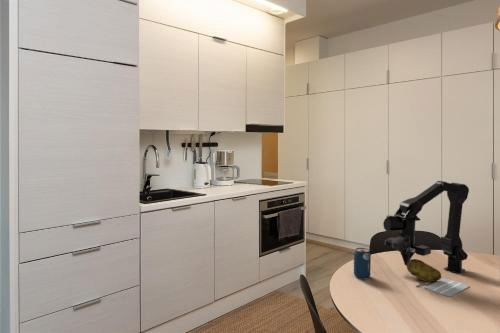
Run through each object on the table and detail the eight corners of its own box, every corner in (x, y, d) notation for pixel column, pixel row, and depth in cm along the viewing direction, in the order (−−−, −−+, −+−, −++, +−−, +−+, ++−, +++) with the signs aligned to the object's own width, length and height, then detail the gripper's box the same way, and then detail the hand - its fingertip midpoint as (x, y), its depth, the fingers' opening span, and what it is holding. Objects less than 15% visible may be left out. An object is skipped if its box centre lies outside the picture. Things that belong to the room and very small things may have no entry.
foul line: (438, 276, 159) (438, 275, 159) (441, 277, 158) (441, 276, 158) (415, 286, 148) (415, 285, 148) (418, 287, 148) (418, 286, 148)
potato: (434, 286, 148) (434, 266, 147) (403, 278, 157) (403, 259, 157) (443, 280, 153) (443, 261, 153) (412, 273, 163) (412, 255, 162)
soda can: (372, 279, 155) (373, 252, 154) (356, 279, 156) (356, 252, 155) (367, 273, 162) (368, 247, 161) (351, 273, 162) (352, 247, 162)
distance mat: (444, 279, 156) (444, 278, 156) (469, 286, 148) (469, 286, 148) (424, 288, 146) (424, 287, 146) (450, 296, 138) (450, 296, 138)
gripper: (378, 228, 163) (376, 262, 164) (417, 238, 148) (415, 275, 149) (392, 224, 169) (391, 257, 171) (432, 234, 154) (430, 270, 155)
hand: (406, 265), depth 161 cm, fingers closed
